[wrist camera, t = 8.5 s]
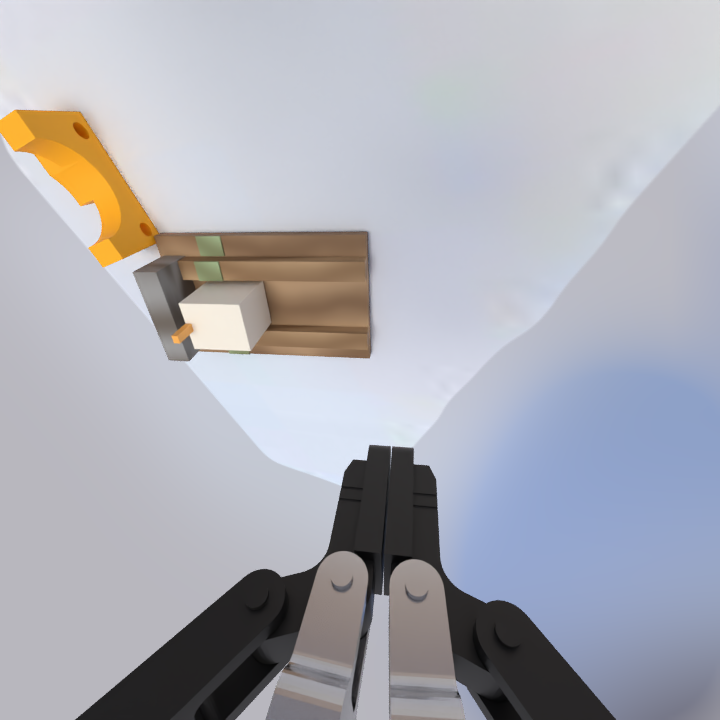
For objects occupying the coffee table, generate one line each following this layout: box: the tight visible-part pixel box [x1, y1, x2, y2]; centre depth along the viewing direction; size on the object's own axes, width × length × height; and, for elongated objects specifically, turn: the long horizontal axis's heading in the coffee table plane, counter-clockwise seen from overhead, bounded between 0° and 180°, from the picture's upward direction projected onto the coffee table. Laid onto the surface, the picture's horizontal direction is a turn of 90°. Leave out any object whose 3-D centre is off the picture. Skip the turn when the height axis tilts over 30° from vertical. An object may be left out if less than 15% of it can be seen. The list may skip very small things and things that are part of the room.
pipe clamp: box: [0, 110, 159, 267], centre depth 33 cm, size 12×4×6 cm, turn 21°
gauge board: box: [133, 232, 371, 361], centre depth 37 cm, size 14×22×6 cm, turn 92°
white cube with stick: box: [171, 281, 271, 351], centre depth 35 cm, size 5×6×8 cm
